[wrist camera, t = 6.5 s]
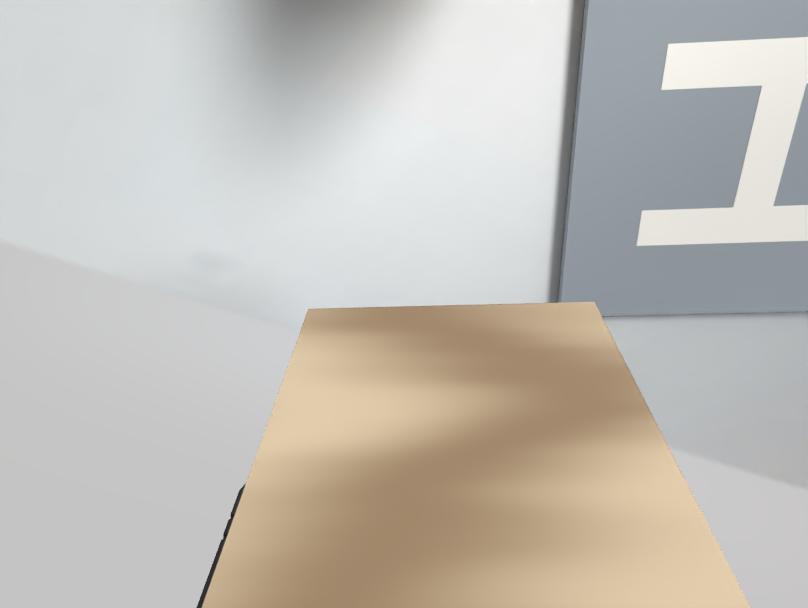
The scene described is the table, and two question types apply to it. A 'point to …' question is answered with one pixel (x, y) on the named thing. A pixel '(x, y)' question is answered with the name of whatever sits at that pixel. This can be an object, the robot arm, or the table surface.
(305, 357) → the oak block
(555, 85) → the table surface
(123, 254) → the table surface
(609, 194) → the letter board
